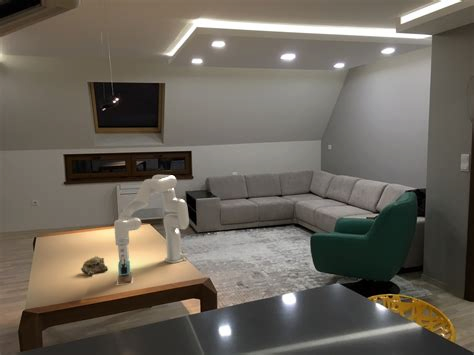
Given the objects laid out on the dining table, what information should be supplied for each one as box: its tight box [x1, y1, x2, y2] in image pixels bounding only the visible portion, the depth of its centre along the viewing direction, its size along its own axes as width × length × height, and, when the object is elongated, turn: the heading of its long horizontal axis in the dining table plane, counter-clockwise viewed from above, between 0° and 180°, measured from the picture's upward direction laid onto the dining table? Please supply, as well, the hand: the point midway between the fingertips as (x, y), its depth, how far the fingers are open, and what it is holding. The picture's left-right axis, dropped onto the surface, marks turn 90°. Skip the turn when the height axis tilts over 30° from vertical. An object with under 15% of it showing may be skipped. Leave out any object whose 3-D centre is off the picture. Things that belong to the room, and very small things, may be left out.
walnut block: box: [117, 271, 133, 285], centre depth 228 cm, size 7×7×4 cm
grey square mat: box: [116, 277, 134, 286], centre depth 228 cm, size 16×14×1 cm
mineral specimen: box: [80, 255, 109, 275], centre depth 246 cm, size 14×13×10 cm
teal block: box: [117, 260, 131, 275], centre depth 227 cm, size 6×6×6 cm
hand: (124, 271), depth 227 cm, fingers closed on teal block, 5 cm apart
